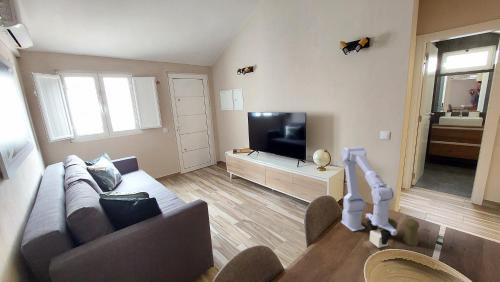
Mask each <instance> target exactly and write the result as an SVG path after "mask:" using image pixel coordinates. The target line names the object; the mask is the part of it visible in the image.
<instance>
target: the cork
mask: <svg viewBox="0 0 500 282" xmlns="http://www.w3.org/2000/svg"><path fill="white" fill-rule="evenodd" d="M419 228H420V223H419V222H418V221H417V220H415V219H413V218H407V219H406V220H405V230H404V233H403V236H402V242H404V243H405V244H407V245H409V246H412V247H415V246H418V245H419V233H418V229H419Z"/></svg>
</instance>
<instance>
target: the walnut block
mask: <svg viewBox="0 0 500 282" xmlns="http://www.w3.org/2000/svg"><path fill="white" fill-rule="evenodd" d="M362 248H364V249H365V250H366V251H367V252H368V251H369V252H370V253H369V252H368V253H369V254H370V255H372V254H374V253H376V252H378V251H382V250H385V249H394V248H393V247H392V246H391V245H389V244H388V245H387V246H384V247H380V248H378V247H377V246H376V245H374V244H373V243H372V242H371V241H370V239H368V240H365V241H362Z"/></svg>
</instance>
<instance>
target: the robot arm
mask: <svg viewBox="0 0 500 282" xmlns="http://www.w3.org/2000/svg"><path fill="white" fill-rule="evenodd" d="M341 158H342V159H341V160H342V163H344V169H345V171H344V172H345V178H346V179H345V180H346V187H347V188H346V189H347V194H346V195H345V196H343V201H342V202H343V203H342V204H343V205H342V207H343V209H342V217H341V218H342V219H341V221H340V223H341V224H343V225H344V226H345V227H346V228H347V229H348V230H350V231H351V232H356V231H361V230H365V229H366V227H365V226H363V225H362V218H363V217H362V213H364V211H365V210H366V209H367V203H366V201H365V198H364V196H363V195H362V194H360V193H359V182H358V176H357V175H358V174H357V168H356V164H358V166H359V167H360V168H361V170H362V171H363V173H364V174H365V175H364V178H365V181H366V182H367V184H368V185H369V187H370V189H371V196H372V201H373V210H372V211H373V213H370V212H367V213H365V218H366V219H368V220H367V221H366V224H367V225H368V228H369V232H370V231H372V230H376V229H379V228H380V233H381V236H382V244H383V245H385V244H387V242H388V243H389V240H390V238H391V237H392V236H397V233H398V230H397V229H394V228H393V227H392V226H391V225H390V224H389V223H388V218H389V214H390V203H391V200H392V199H394V197H395V193H394V190H393V188H392V187H391V186H390V185H388V184H387V183H385V182H384V181H383V179H382V177H381V176H380V175H379V173H378V172H377V171H374V170H373V168H372V166H371V164H370V162H369V161H368V160H369V159H368V158H367V151H366V149H365V147H364V146H363V145H359V146H351V147H350V146H349V147H347V146H345V147H343V148H342V150H341ZM378 227H379V228H378ZM381 228H384V230H381ZM391 235H392V236H391Z"/></svg>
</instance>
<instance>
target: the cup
mask: <svg viewBox="0 0 500 282" xmlns="http://www.w3.org/2000/svg"><path fill="white" fill-rule="evenodd" d="M388 223H389V224H390V225H391V226H392V227H393V228H394V229H396V230H397V228H398V224H399V222H397V220H395V219H393V218H390V217H388ZM380 230H384V228H381V227H380ZM392 236H393V235H391V237H392Z"/></svg>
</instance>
